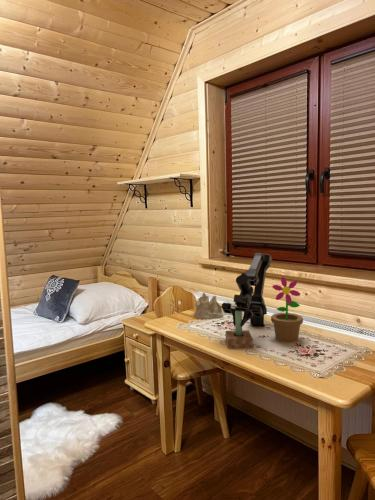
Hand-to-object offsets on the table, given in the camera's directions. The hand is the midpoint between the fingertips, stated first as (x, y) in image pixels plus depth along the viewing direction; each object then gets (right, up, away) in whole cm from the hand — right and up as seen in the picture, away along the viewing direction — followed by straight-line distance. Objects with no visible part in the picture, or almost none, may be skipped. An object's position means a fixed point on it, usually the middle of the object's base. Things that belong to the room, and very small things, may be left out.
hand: (237, 326), depth 166 cm
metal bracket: (+5, -3, +53) cm, 53 cm away
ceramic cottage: (-10, -4, +47) cm, 48 cm away
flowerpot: (+24, -7, +7) cm, 26 cm away
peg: (+1, -6, +2) cm, 7 cm away
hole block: (+1, -8, +2) cm, 9 cm away
